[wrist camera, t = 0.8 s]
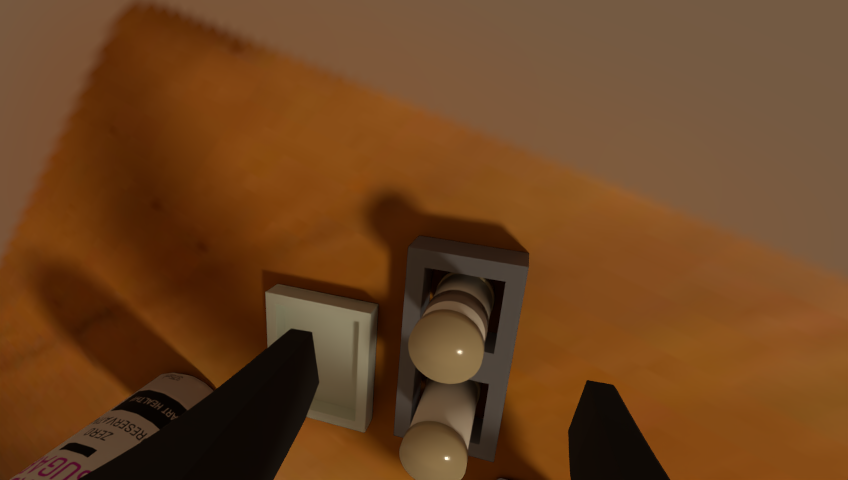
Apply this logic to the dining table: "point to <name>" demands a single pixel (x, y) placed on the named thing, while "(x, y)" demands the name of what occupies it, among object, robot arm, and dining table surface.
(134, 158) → the dining table surface
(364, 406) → the parts tray
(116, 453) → the supplement can
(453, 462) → the cylinder
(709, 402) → the dining table surface
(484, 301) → the fuse
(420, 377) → the block
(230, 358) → the dining table surface
